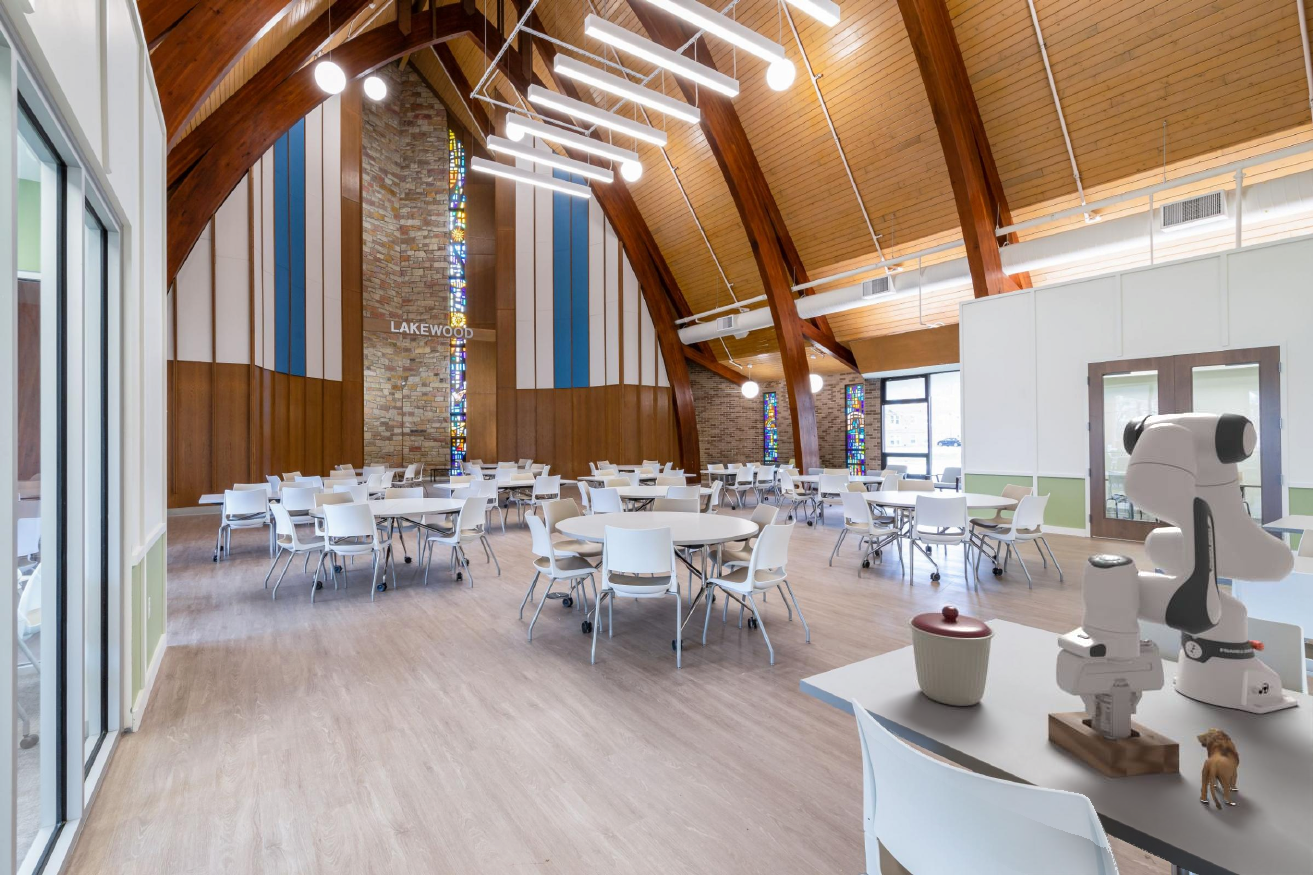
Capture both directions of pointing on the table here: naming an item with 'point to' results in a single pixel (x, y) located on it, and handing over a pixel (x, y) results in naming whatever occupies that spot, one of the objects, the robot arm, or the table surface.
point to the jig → (1114, 746)
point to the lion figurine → (1218, 764)
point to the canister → (951, 656)
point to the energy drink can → (1114, 711)
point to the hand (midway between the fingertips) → (1110, 714)
